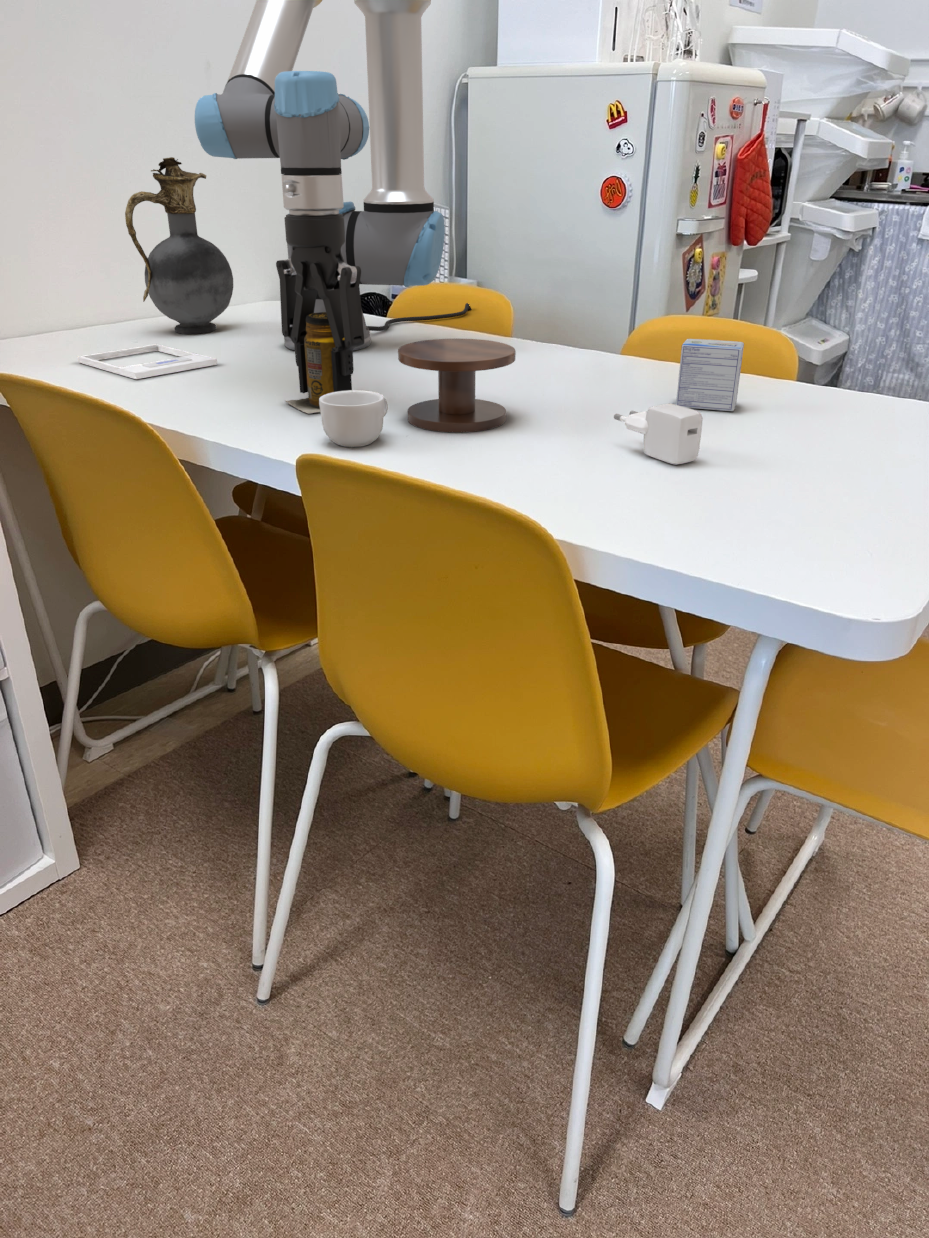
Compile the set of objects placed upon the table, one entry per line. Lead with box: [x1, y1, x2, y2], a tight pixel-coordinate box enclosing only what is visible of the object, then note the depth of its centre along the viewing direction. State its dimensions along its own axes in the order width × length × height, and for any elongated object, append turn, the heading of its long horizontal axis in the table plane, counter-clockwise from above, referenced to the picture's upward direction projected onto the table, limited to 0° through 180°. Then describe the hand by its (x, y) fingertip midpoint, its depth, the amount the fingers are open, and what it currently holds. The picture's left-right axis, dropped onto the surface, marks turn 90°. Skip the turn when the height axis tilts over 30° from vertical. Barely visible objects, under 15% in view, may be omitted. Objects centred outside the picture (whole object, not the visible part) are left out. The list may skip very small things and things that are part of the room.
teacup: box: [319, 389, 389, 448], centre depth 113 cm, size 10×8×5 cm
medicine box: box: [675, 338, 745, 412], centre depth 128 cm, size 8×4×9 cm, turn 71°
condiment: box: [285, 312, 345, 415], centre depth 127 cm, size 7×8×12 cm
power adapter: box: [613, 403, 704, 465], centre depth 109 cm, size 11×5×6 cm, turn 35°
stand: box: [397, 338, 517, 434], centre depth 122 cm, size 15×15×9 cm
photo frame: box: [76, 343, 218, 380], centre depth 153 cm, size 15×1×18 cm
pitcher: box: [124, 156, 234, 335], centre depth 172 cm, size 11×19×30 cm, turn 139°
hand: (326, 394), depth 129 cm, fingers closed on condiment, 6 cm apart
